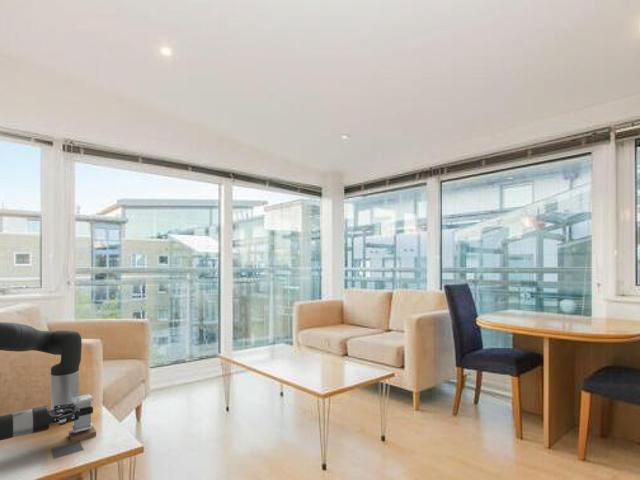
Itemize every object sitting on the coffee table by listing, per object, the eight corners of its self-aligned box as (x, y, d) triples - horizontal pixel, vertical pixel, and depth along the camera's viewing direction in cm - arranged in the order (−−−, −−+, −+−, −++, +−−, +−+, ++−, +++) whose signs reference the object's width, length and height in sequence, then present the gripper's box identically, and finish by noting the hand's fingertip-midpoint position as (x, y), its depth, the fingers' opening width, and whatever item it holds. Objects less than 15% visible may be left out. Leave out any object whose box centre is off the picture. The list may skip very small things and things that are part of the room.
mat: (50, 452, 128) (50, 449, 128) (79, 444, 133) (79, 441, 133) (53, 462, 122) (53, 458, 122) (84, 453, 127) (84, 449, 127)
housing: (71, 427, 137) (71, 397, 138) (89, 422, 141) (89, 393, 141) (74, 432, 133) (74, 402, 133) (93, 427, 137) (93, 398, 137)
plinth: (68, 438, 138) (68, 430, 138) (92, 432, 142) (92, 424, 142) (72, 445, 132) (72, 437, 132) (96, 438, 137) (96, 431, 137)
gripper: (32, 416, 123) (95, 402, 134) (28, 403, 134) (87, 391, 145) (32, 441, 123) (95, 425, 133) (28, 426, 134) (87, 412, 144)
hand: (91, 407), depth 139 cm, fingers closed on housing, 4 cm apart
